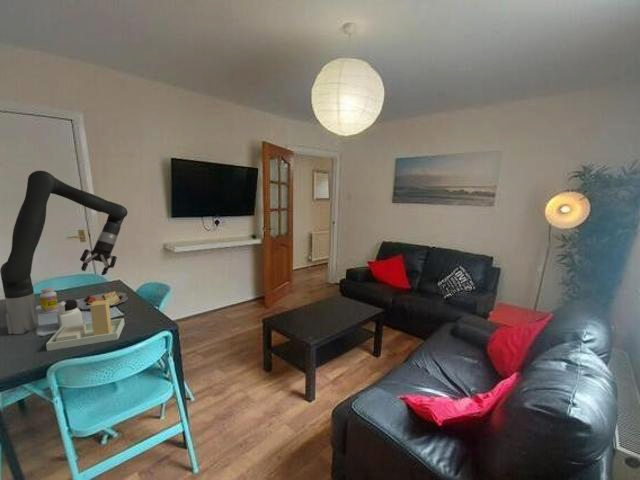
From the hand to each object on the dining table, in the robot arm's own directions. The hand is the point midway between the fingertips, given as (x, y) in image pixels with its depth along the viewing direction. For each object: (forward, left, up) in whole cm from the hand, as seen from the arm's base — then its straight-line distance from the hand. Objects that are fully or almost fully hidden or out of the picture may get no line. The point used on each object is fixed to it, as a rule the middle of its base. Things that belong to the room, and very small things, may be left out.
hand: (93, 272), depth 144 cm
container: (-10, -5, -25) cm, 27 cm away
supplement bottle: (-26, +21, -25) cm, 41 cm away
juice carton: (+6, -21, -24) cm, 32 cm away
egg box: (-5, -21, -24) cm, 32 cm away
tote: (+1, -21, -25) cm, 32 cm away
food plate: (-3, +25, -25) cm, 36 cm away
